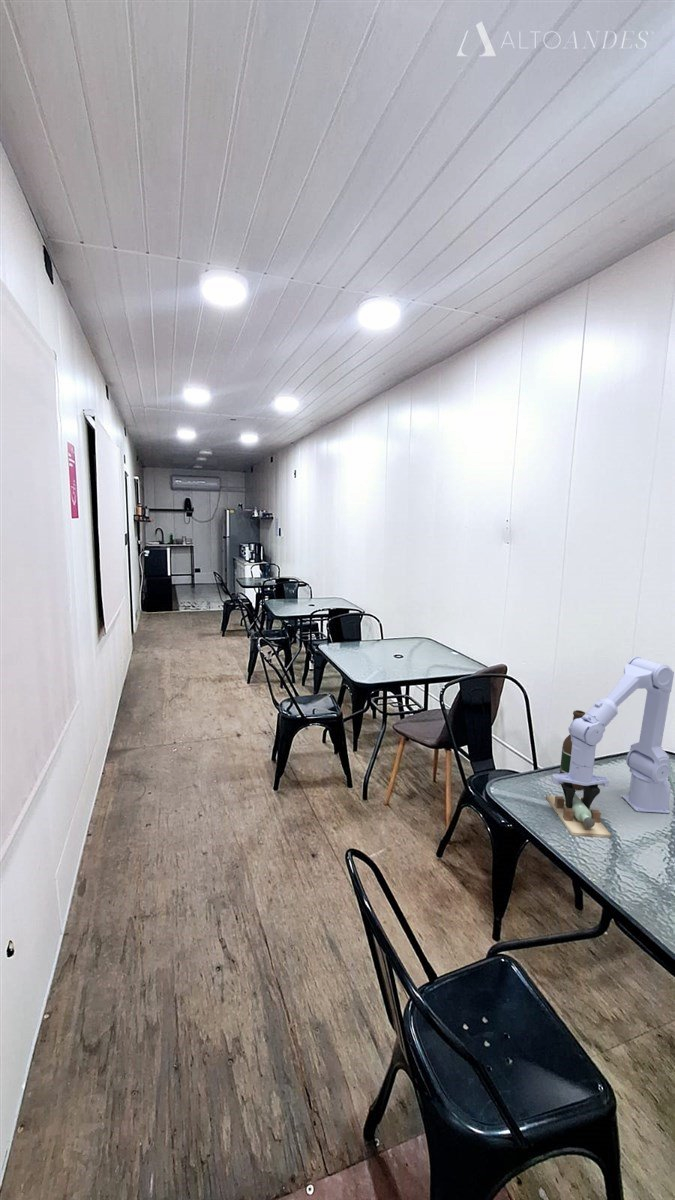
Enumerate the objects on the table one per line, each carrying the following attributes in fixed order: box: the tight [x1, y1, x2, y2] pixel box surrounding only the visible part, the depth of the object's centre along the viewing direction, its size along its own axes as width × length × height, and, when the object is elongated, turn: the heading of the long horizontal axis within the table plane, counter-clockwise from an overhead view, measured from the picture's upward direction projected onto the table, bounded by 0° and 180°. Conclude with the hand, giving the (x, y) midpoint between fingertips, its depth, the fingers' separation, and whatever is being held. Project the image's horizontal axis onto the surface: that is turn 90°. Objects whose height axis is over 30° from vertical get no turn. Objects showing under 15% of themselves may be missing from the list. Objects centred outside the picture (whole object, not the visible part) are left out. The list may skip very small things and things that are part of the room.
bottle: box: [562, 793, 595, 828], centre depth 132 cm, size 4×12×4 cm, turn 177°
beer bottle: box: [559, 709, 586, 791], centre depth 150 cm, size 8×8×24 cm
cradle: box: [545, 794, 612, 839], centre depth 134 cm, size 10×18×4 cm, turn 177°
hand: (577, 808), depth 133 cm, fingers closed on bottle, 4 cm apart
